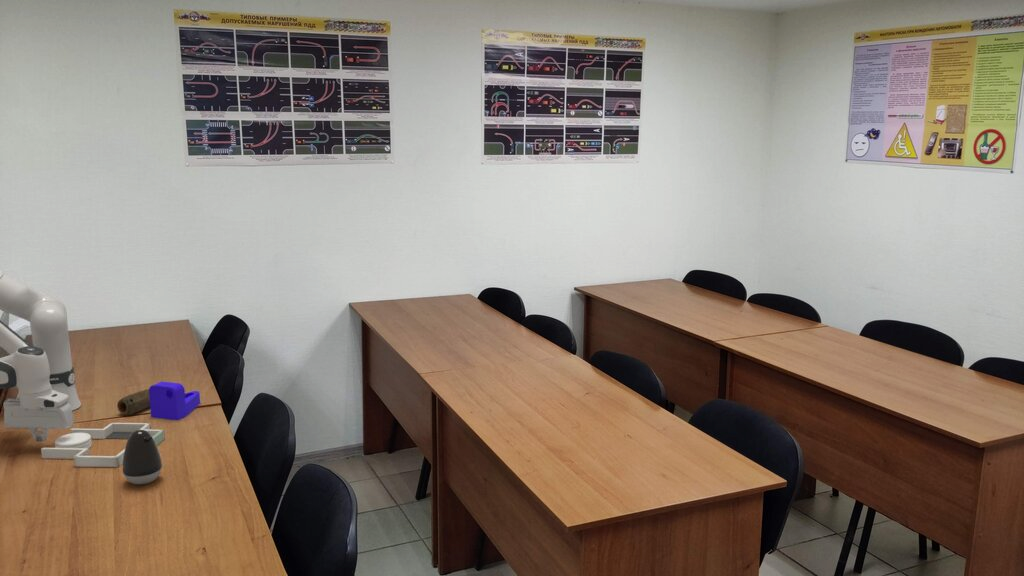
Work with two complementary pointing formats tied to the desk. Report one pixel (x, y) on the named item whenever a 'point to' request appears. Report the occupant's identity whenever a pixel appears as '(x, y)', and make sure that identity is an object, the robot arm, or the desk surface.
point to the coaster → (74, 441)
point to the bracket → (172, 401)
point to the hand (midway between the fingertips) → (41, 440)
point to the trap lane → (108, 432)
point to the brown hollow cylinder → (134, 402)
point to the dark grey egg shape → (141, 458)
